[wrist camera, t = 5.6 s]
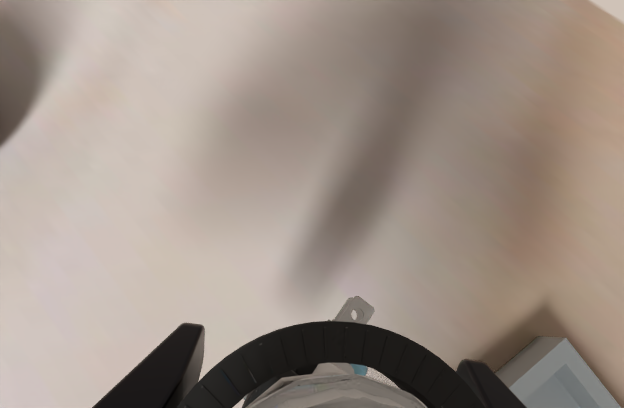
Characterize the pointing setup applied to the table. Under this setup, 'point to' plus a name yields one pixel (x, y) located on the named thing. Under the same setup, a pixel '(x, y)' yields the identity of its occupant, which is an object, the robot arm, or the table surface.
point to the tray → (554, 377)
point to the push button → (332, 370)
